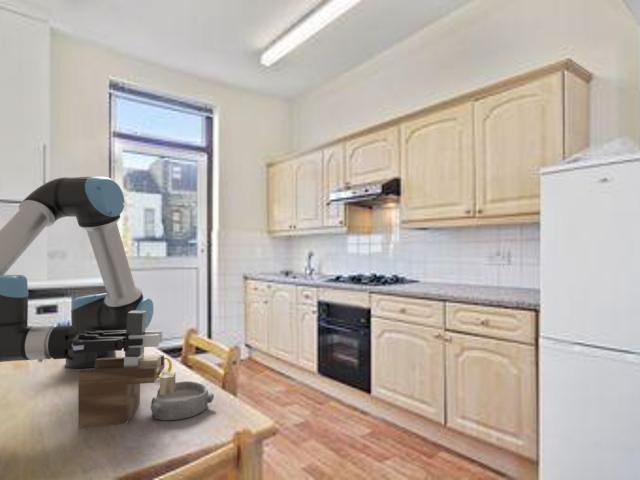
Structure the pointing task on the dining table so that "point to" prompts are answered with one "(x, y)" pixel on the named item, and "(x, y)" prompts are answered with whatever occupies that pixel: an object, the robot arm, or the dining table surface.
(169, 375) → the cream block
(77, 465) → the dining table surface
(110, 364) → the slot board
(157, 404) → the dish
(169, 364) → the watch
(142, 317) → the dark gray upright block
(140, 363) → the cream square block
